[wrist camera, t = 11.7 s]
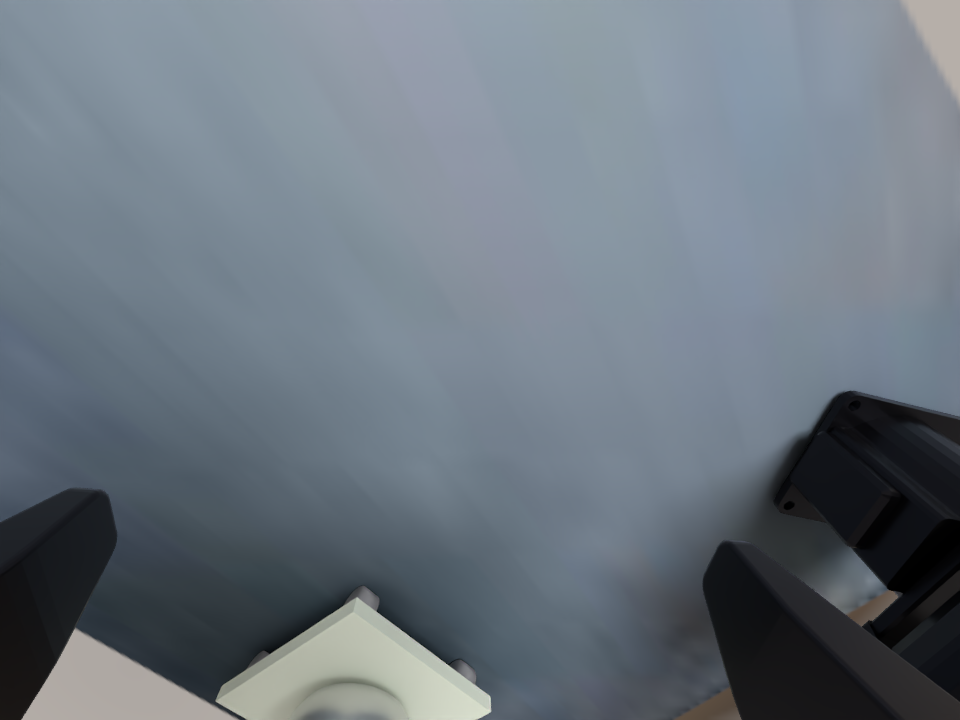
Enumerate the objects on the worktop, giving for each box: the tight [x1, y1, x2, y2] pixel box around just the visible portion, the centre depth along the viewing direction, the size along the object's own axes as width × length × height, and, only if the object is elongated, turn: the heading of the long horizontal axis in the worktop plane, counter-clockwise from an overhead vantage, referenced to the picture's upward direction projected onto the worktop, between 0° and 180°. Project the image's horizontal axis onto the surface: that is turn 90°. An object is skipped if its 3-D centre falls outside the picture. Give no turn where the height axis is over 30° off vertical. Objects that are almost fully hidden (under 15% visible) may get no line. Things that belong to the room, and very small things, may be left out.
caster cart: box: [216, 586, 491, 720], centre depth 28 cm, size 10×10×2 cm
